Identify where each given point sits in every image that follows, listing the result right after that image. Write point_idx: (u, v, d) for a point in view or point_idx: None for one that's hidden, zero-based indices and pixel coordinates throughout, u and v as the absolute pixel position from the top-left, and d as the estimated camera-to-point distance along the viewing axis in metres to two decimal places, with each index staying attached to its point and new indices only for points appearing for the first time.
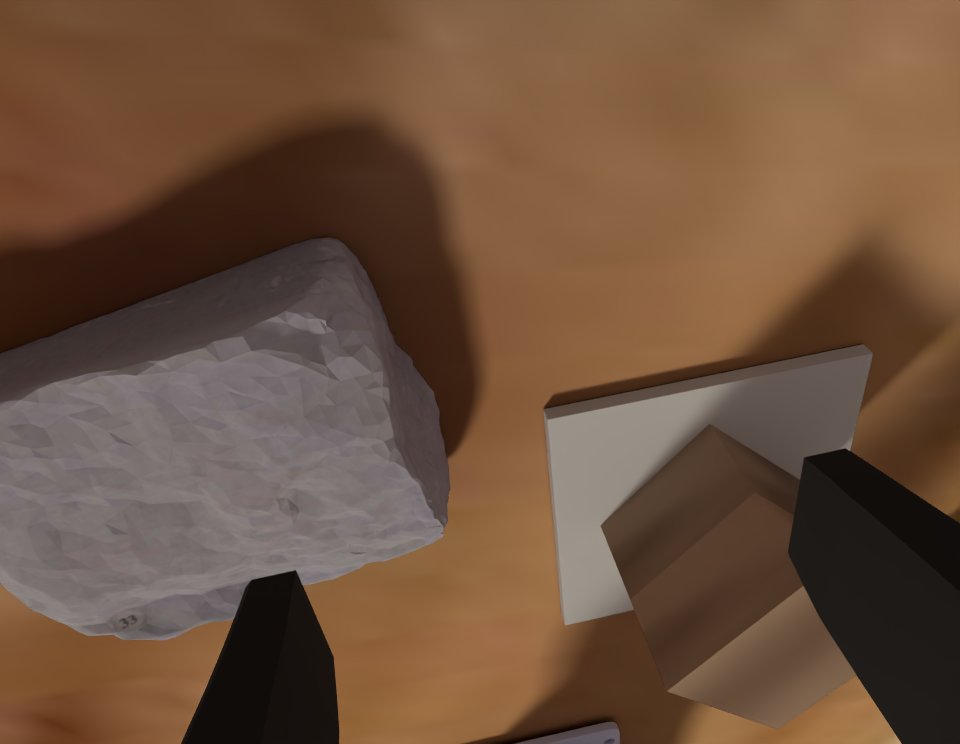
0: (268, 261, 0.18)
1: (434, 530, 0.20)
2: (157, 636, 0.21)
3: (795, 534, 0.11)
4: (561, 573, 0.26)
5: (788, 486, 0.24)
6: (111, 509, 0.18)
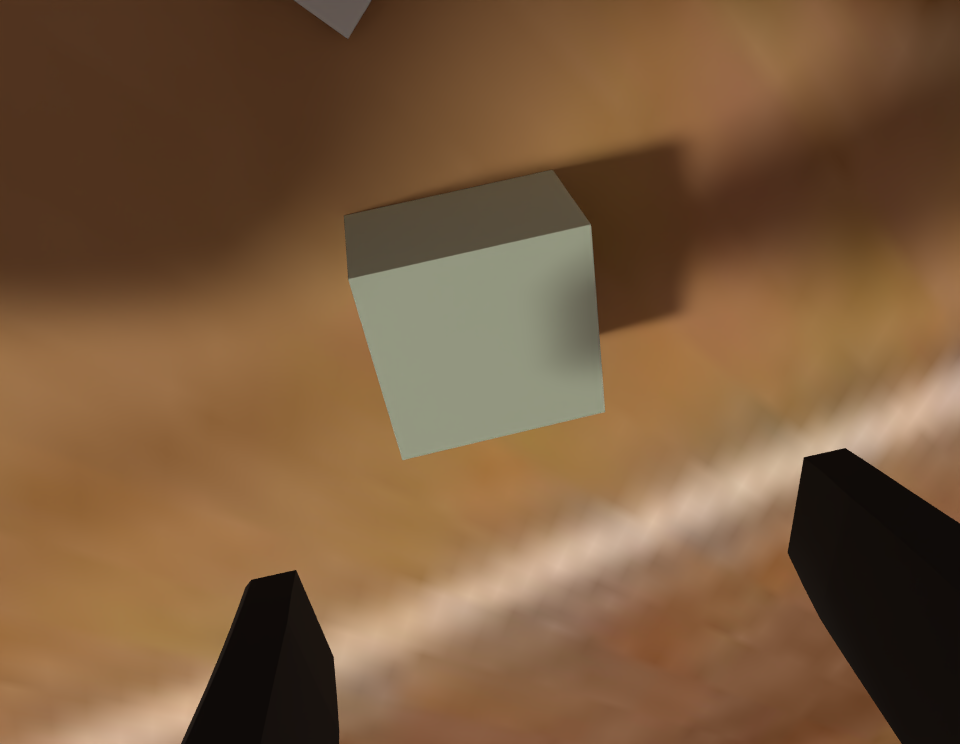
0: None
1: None
2: None
3: (795, 534, 0.11)
4: None
5: None
6: None
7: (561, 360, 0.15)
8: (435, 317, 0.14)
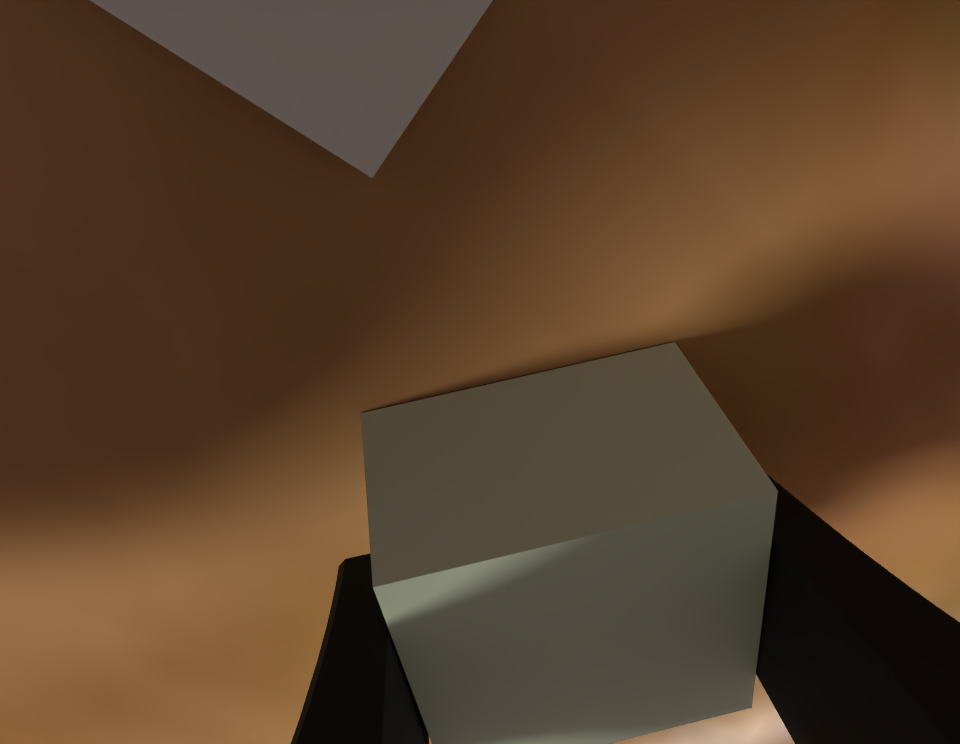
0: None
1: None
2: None
3: None
4: None
5: None
6: None
7: (700, 656, 0.10)
8: (512, 623, 0.09)
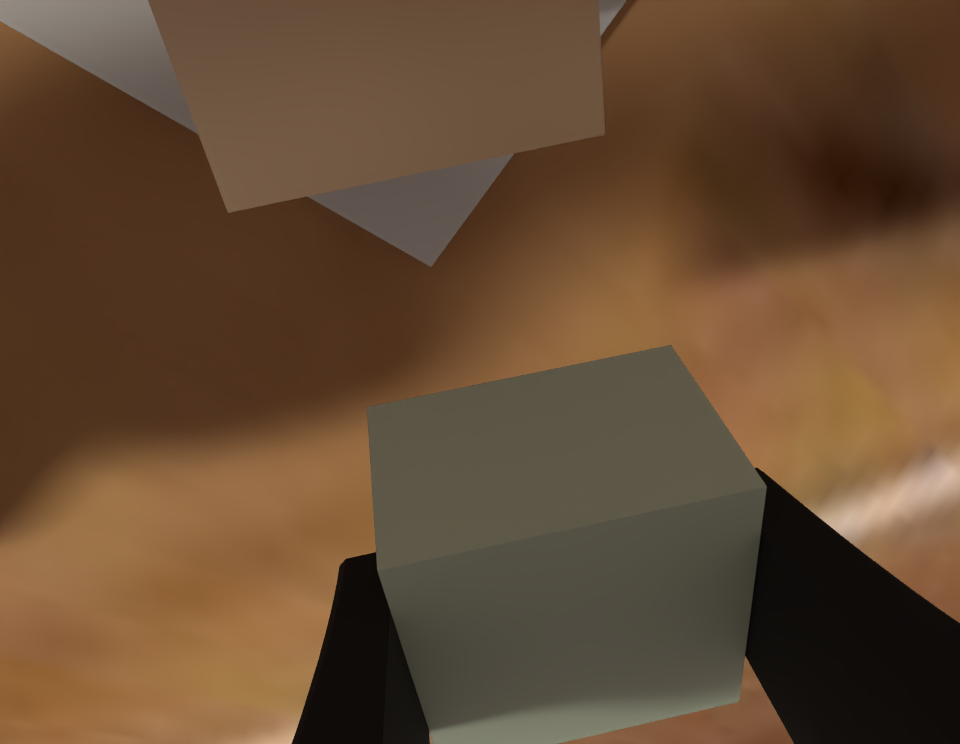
0: None
1: None
2: None
3: None
4: None
5: None
6: None
7: (690, 648, 0.10)
8: (510, 610, 0.09)
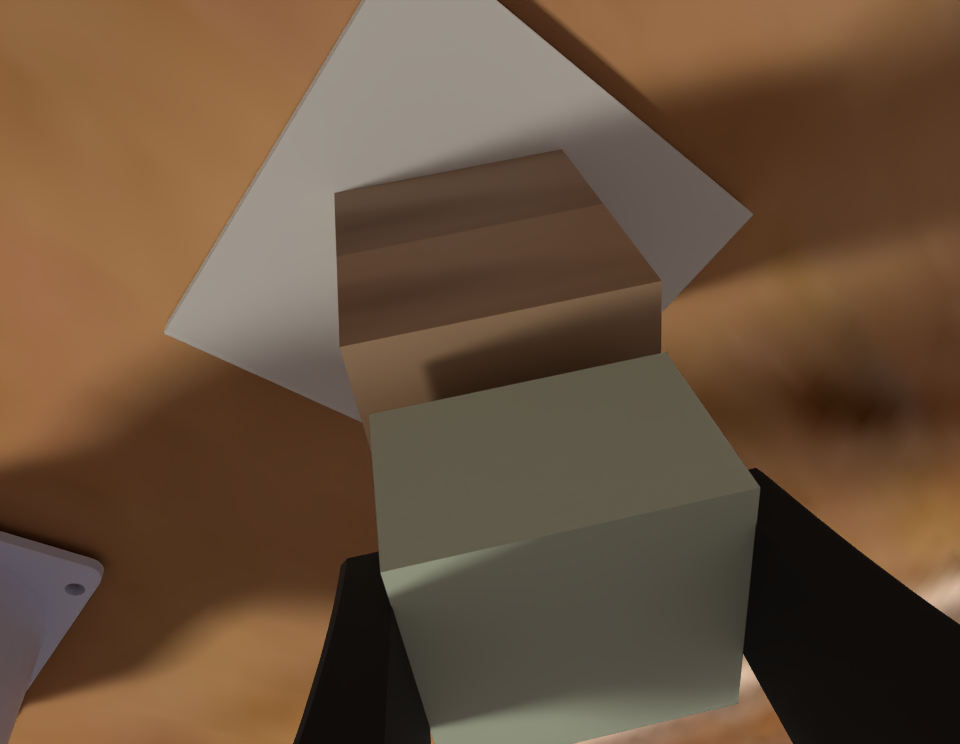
0: None
1: None
2: None
3: None
4: (226, 232, 0.16)
5: None
6: None
7: (688, 650, 0.10)
8: (510, 612, 0.09)
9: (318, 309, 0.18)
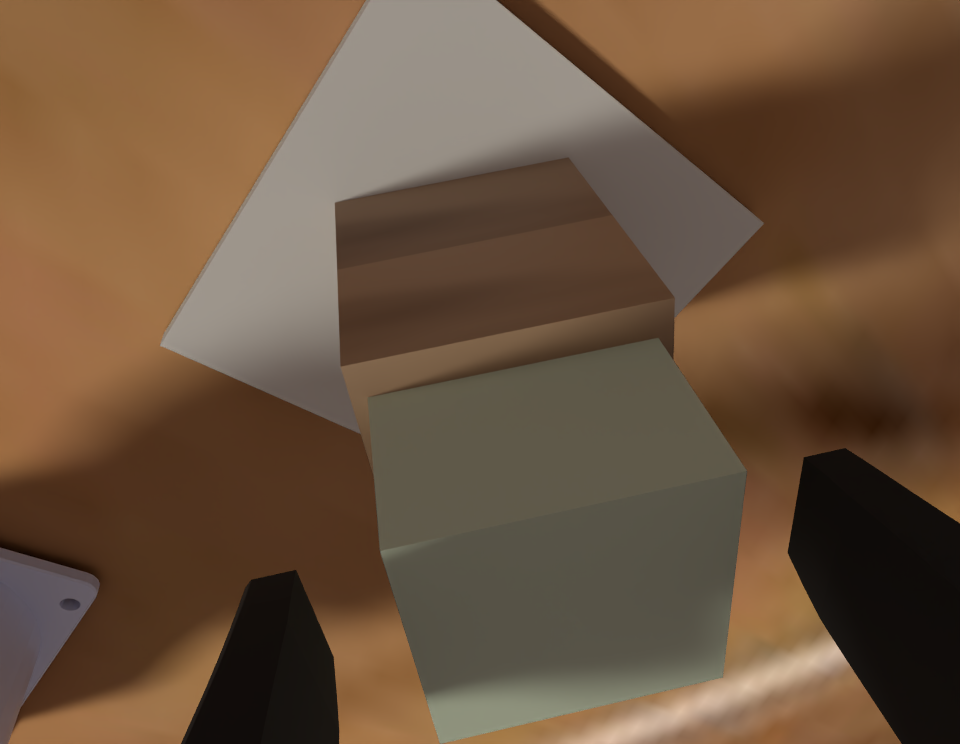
0: None
1: None
2: None
3: (795, 534, 0.11)
4: (224, 243, 0.16)
5: None
6: None
7: (675, 626, 0.11)
8: (505, 588, 0.10)
9: (318, 320, 0.17)
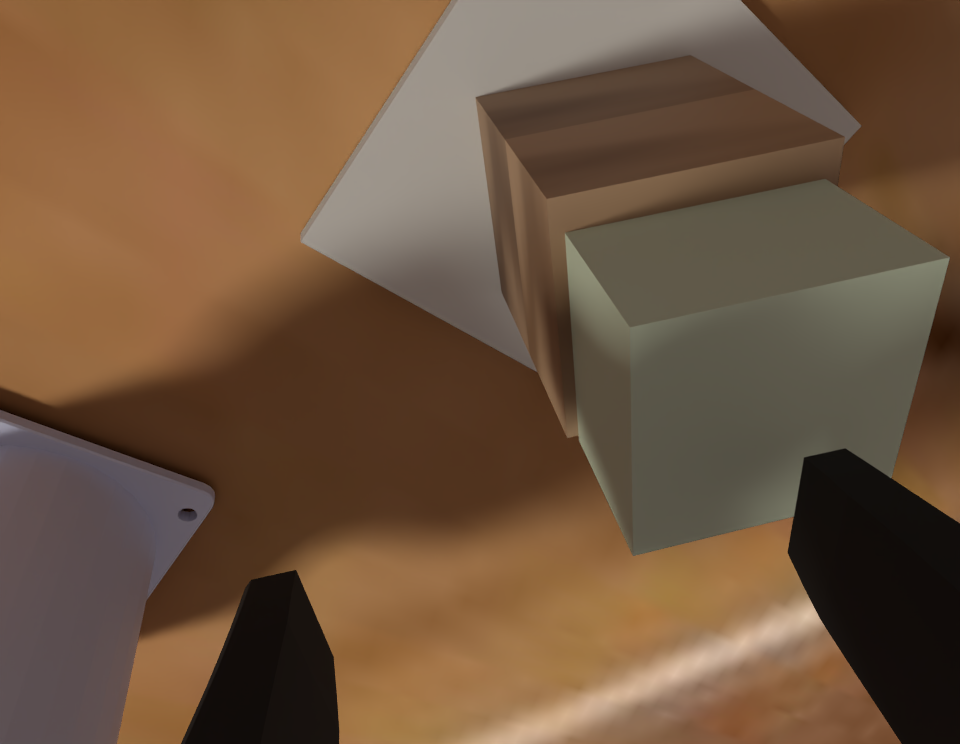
0: None
1: None
2: None
3: (795, 534, 0.11)
4: (370, 136, 0.17)
5: None
6: None
7: (858, 431, 0.12)
8: (724, 378, 0.11)
9: (448, 219, 0.18)
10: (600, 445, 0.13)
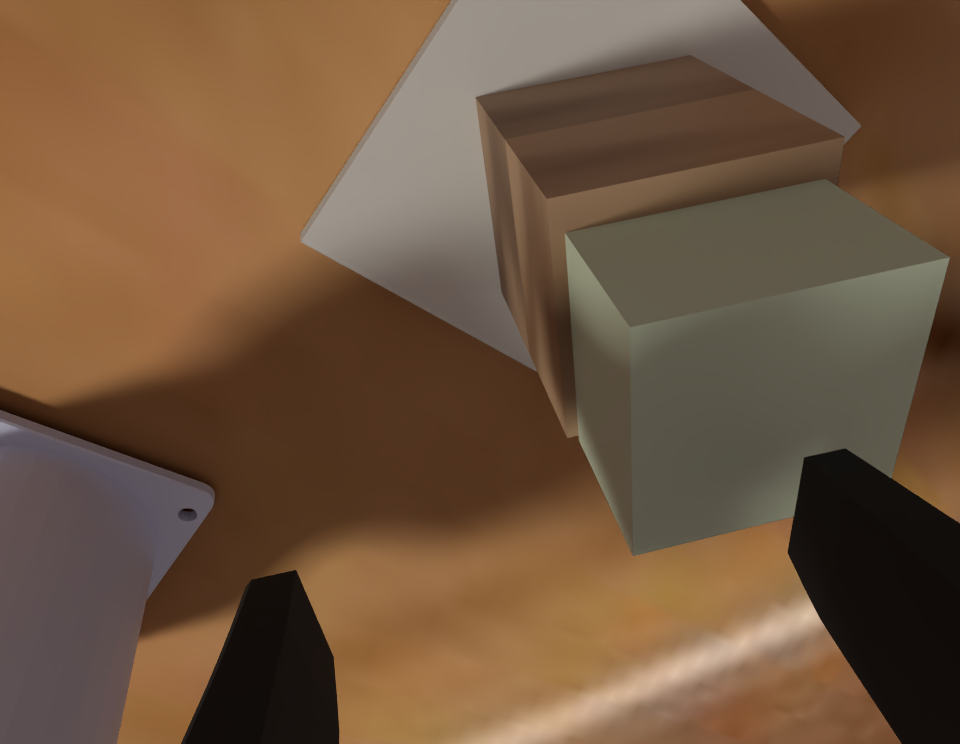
0: None
1: None
2: None
3: (795, 534, 0.11)
4: (370, 136, 0.17)
5: None
6: None
7: (858, 431, 0.12)
8: (724, 378, 0.11)
9: (448, 219, 0.18)
10: (600, 445, 0.13)
